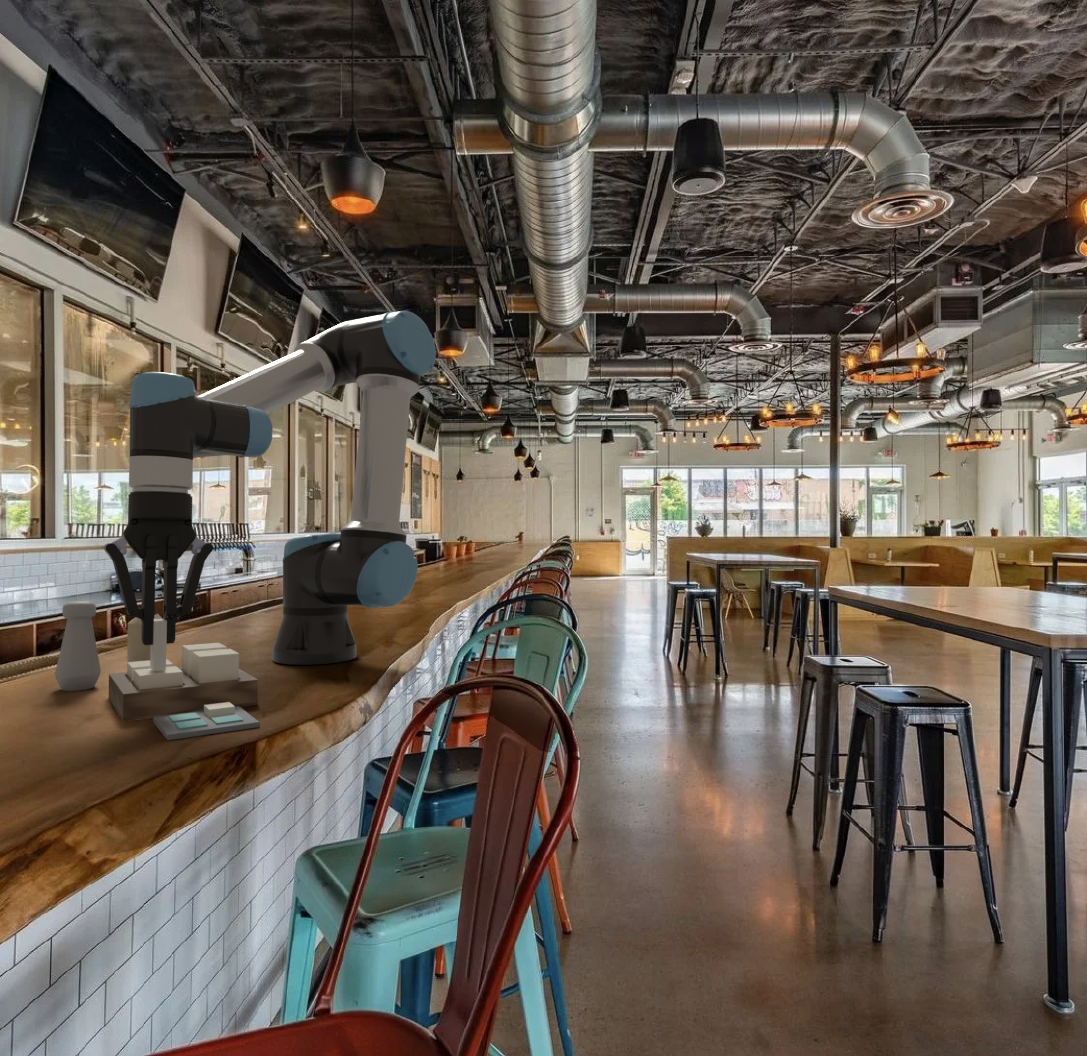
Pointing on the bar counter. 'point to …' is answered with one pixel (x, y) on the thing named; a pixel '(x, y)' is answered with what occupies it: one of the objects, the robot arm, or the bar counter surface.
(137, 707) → the button board
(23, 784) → the bar counter surface
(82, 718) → the bar counter surface
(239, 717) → the card
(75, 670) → the salt shaker
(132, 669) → the button
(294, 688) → the bar counter surface
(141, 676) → the button
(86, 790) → the bar counter surface
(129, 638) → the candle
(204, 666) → the button
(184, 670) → the back left button
